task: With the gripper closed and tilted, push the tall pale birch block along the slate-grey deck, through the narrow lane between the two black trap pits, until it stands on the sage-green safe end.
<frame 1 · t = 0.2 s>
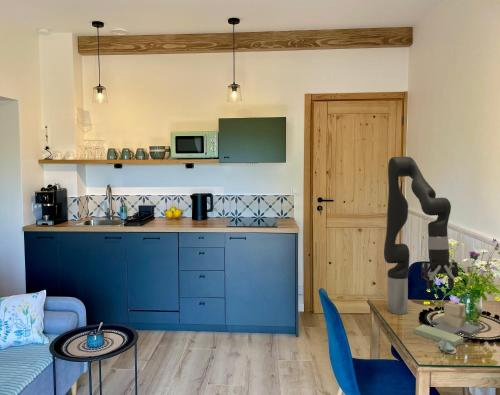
hand: (440, 288, 159), 22 cm above the table, tool pointing down, fingers open, 8 cm apart
trap deck: (447, 332, 170), on the table
birch block: (454, 324, 174), point 2 cm above the table, touching trap deck
pacifier: (447, 351, 154), on the table
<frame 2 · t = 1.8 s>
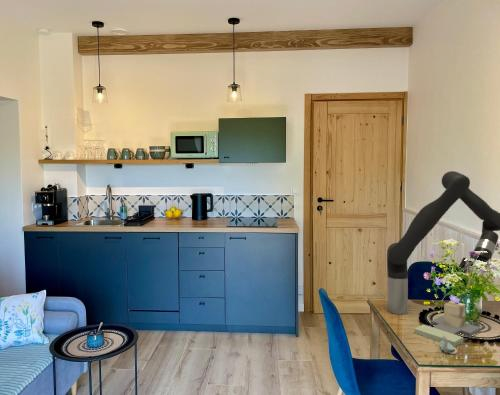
hand: (471, 280, 181), 19 cm above the table, tool tilted 45°, fingers open, 8 cm apart
nothing on the table moved.
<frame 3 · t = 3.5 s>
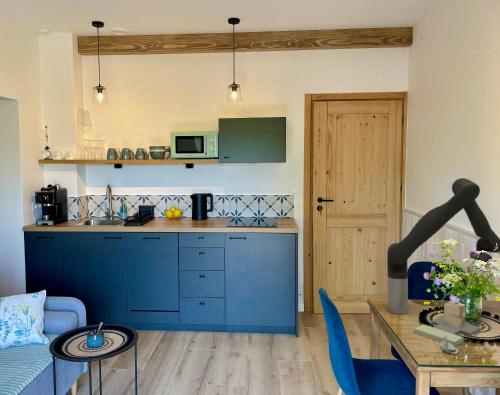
hand: (464, 305, 178), 8 cm above the table, tool tilted 45°, fingers closed
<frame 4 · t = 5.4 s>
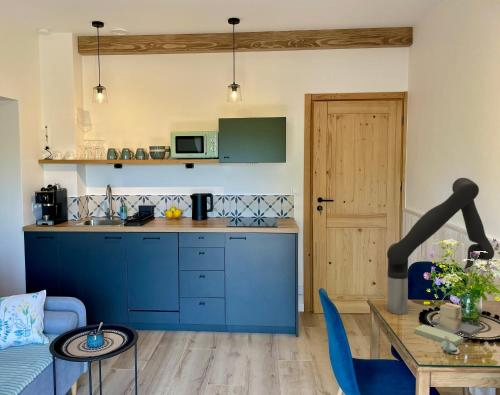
hand: (454, 314, 173), 6 cm above the table, tool tilted 45°, fingers closed
birch block: (450, 326, 171), point 2 cm above the table
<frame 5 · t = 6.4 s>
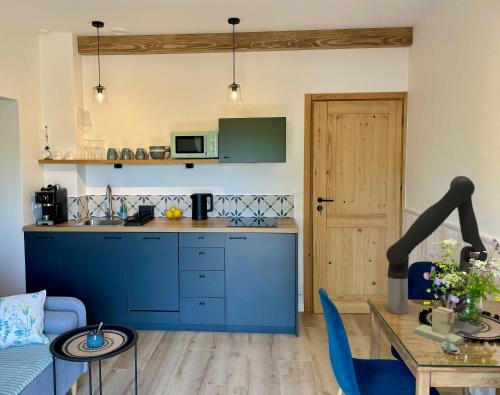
hand: (446, 318, 169), 6 cm above the table, tool tilted 45°, fingers closed
birch block: (442, 331, 167), point 2 cm above the table, touching gripper
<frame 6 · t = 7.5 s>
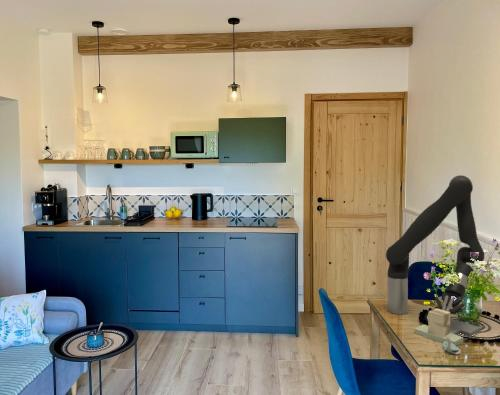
hand: (442, 320, 167), 6 cm above the table, tool tilted 45°, fingers closed
birch block: (439, 333, 165), point 2 cm above the table, touching gripper, trap deck
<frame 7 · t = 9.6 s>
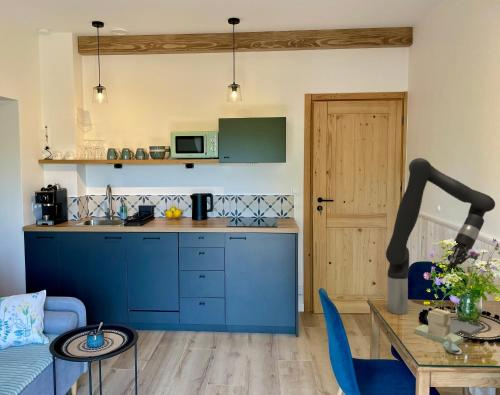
hand: (449, 271, 176), 24 cm above the table, tool tilted 35°, fingers closed
birch block: (439, 333, 165), point 2 cm above the table, touching trap deck
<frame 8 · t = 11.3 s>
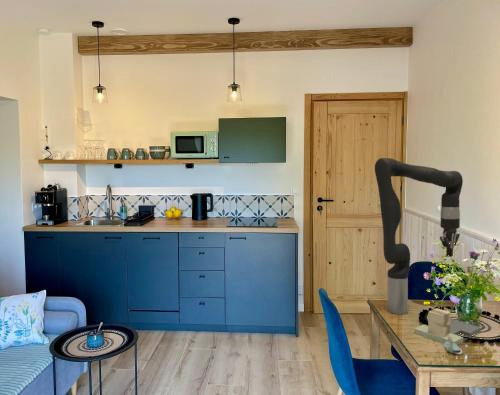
hand: (449, 256, 176), 31 cm above the table, tool pointing down, fingers closed
at the end: birch block 0.6 cm from the target spot on the trap deck, point 2.0 cm above the trap deck's base; birch block tilted 0° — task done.
